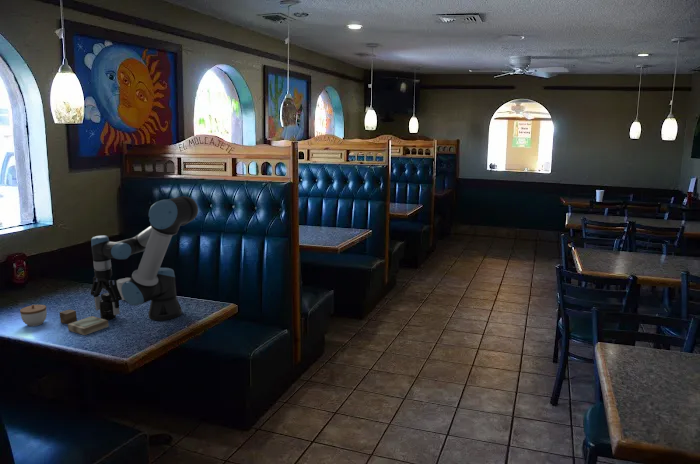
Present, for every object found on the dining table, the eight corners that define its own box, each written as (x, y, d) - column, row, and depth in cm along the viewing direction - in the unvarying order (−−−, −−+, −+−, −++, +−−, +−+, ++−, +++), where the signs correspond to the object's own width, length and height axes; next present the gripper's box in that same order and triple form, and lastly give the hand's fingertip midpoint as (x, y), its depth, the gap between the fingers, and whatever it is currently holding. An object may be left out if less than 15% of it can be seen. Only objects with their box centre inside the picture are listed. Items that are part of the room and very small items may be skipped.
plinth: (108, 326, 255) (108, 319, 255) (84, 335, 245) (83, 328, 245) (92, 322, 262) (92, 315, 261) (68, 330, 252) (67, 323, 251)
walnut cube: (77, 320, 264) (75, 310, 263) (67, 324, 260) (65, 314, 259) (70, 319, 267) (69, 309, 266) (60, 322, 263) (59, 312, 262)
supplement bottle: (106, 321, 262) (103, 297, 259) (97, 319, 265) (94, 295, 263) (119, 317, 267) (116, 293, 265) (110, 314, 271) (107, 291, 269)
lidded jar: (20, 323, 262) (17, 304, 260) (46, 318, 268) (43, 299, 266) (24, 330, 254) (21, 310, 252) (50, 324, 260) (47, 305, 258)
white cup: (128, 300, 292) (126, 282, 290) (115, 300, 293) (113, 282, 291) (137, 296, 299) (135, 278, 297) (124, 295, 301) (122, 277, 299)
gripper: (126, 270, 258) (131, 313, 262) (94, 263, 271) (98, 305, 275) (112, 274, 252) (117, 318, 256) (79, 267, 265) (84, 309, 269)
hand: (107, 311), depth 266 cm, fingers open, 13 cm apart
